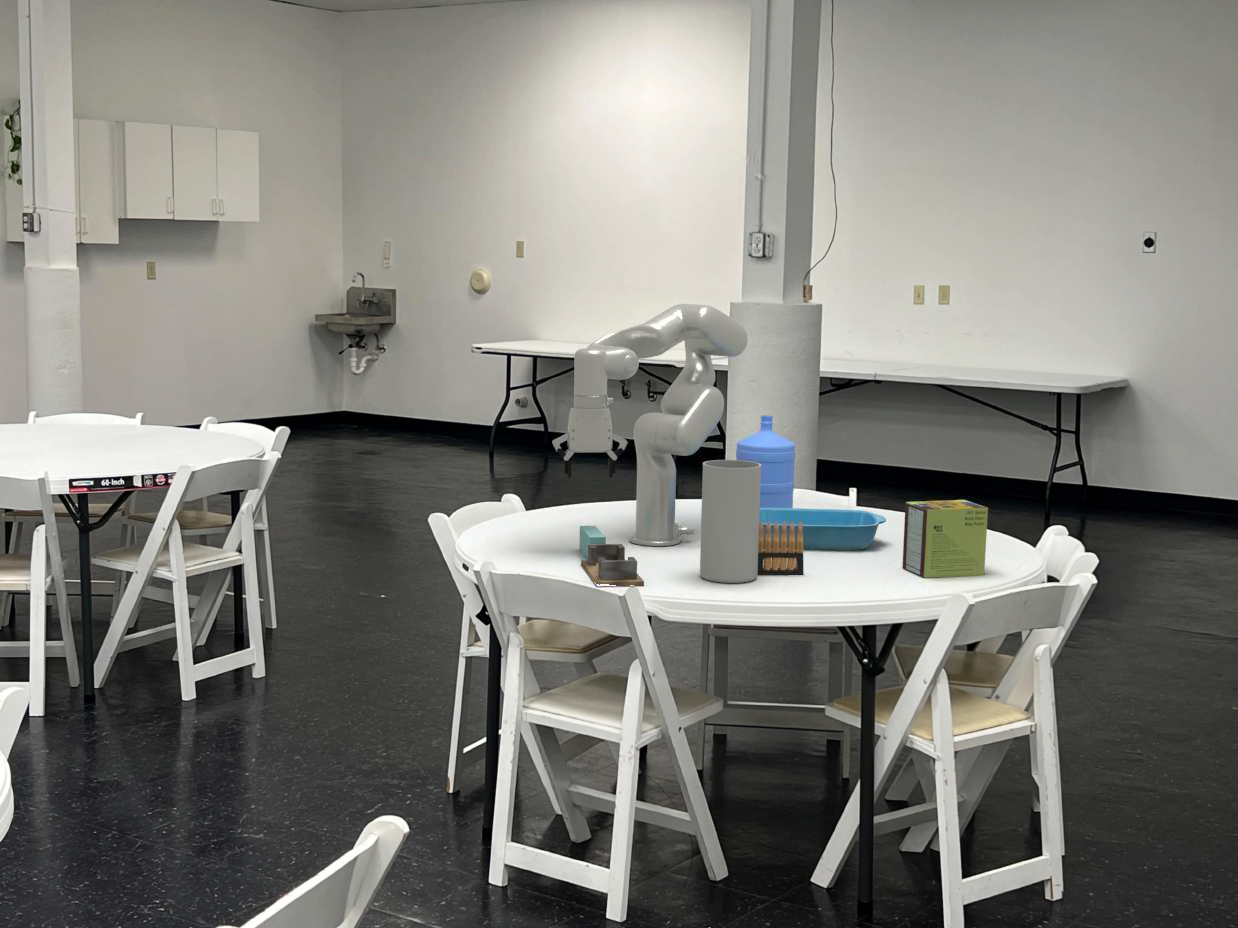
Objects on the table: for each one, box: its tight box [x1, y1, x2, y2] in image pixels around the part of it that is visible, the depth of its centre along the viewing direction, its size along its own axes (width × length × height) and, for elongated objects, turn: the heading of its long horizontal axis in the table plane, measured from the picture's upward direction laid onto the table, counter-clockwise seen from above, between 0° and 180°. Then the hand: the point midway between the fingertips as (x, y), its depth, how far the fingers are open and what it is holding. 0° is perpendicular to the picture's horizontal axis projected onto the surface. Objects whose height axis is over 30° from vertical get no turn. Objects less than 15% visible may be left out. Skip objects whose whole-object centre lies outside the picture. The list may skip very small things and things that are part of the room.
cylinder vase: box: [699, 459, 761, 584], centre depth 303 cm, size 12×12×25 cm
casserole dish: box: [759, 507, 887, 551], centre depth 345 cm, size 37×22×7 cm, turn 86°
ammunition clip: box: [757, 521, 805, 576], centre depth 308 cm, size 11×2×12 cm, turn 94°
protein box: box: [902, 499, 989, 579], centre depth 314 cm, size 10×15×16 cm
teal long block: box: [579, 525, 607, 560], centre depth 324 cm, size 4×14×6 cm, turn 11°
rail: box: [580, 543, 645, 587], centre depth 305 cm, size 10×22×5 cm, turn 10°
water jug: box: [735, 414, 796, 508], centre depth 372 cm, size 16×16×28 cm
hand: (589, 476), depth 322 cm, fingers open, 9 cm apart
